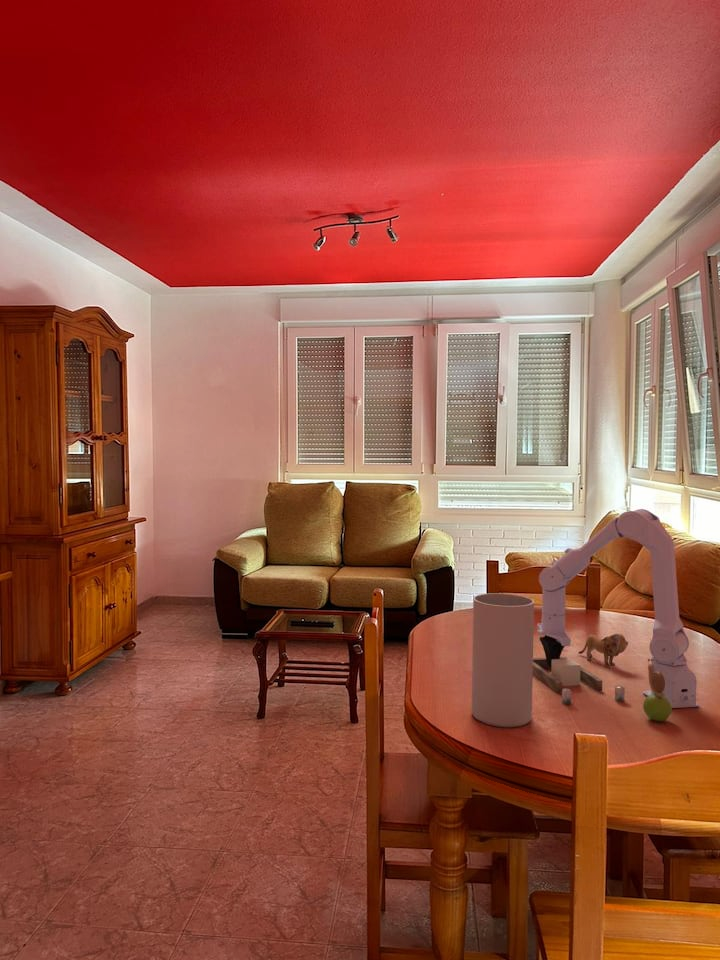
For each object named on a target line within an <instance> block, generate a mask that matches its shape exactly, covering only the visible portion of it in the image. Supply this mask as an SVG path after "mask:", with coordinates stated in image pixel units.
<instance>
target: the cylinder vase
mask: <svg viewBox="0 0 720 960" xmlns="http://www.w3.org/2000/svg"><path fill="white" fill-rule="evenodd" d="M472 604H473V605H472V653H471V654H472V655H471V656H472V657H471V658H472V659H471V660H472V661H471V662H472V663H471V670H472V671H471V713H472V715H473V717H474V718H475V719H476V720H478V722H481V723H484V724H486V725H488V726H494V727H498V728H517V727H518V728H519V727H521V726H522V727H523V726H524V725H527V724H528V723H530V721H531V720H532V717H533V679H534V678H533V676H534V675H533V658H534V625H535V623H534V620H535V601H534V599H532V598H530V597H527V596H524V595H519V594H513V593H512V594H511V593H501V592H500V593H497V592H495V593H482V594H477V595H475V596H473V601H472Z"/></svg>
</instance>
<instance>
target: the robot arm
mask: <svg viewBox="0 0 720 960" xmlns="http://www.w3.org/2000/svg"><path fill="white" fill-rule="evenodd" d="M621 538H627V539H629V540H633V541H635V542H637V543H639V544H641V546H643V547H644V548H646V549H647V550H648V551H649V554H650V564H651V565H650V566H651V567H650V568H651V578H652V579H651V580H652V583H651V584H652V594H653V608H654V609H653V611H654V622H653V626H652V637H651V639H650V642H649V648H648V649H649V652H650V654H651V659H653V661H651V664H652V665H653V666H654V672H655V671H659V672H661V673H662V674H663V676H664V679H665V688H664V690H663V691H662V693H664V697H665V698H667V699H668V701H669V702H670V704H671V708H672V709H679V708H694V707H695V708H697V707H700V703H697V677H696V674H695V673H694V672H693V670H691V669H690V668H689V667H688V664H687V663H688V661H687V658H686V656H685V653H686V652H687V651H688V649H689V646H690V640H689V638H688V636H687V634H686V632H685V629H684V623H683V621H682V620H681V618H680V610H679V609H680V607H679V595H678V594H679V593H678V584H677V583H678V580H677V566H676V554H675V553H676V551H675V542H674V539H673V538H672V536H671V535H670V534H669V532H668V531H667V529H666V528H665V527H664V525H663V524H662V523H661V520H660V518H659V517H658V516H657V515H656V514H654V513H652V512H651V511H649V510H647V509H644V508H640V509H639V508H638V509H635V510H627V511H624V512H623V513H621V514H620V515H619V516H618V517H615V518H614V519H612V520H610V521H609V522H608V523H606V524H605V526H603V527H602V528H601V529H600V530H599V531H598V532H596V533H595V534H594V535H593V536H592V537H591V538H590V539H588V541H587V542H585V543H584V544H583V545H582V546H581V547H577V546H574V547H572V548H569V547H568V548H566V549H565V550H564V554H563V555H562V556H561V557H559V559H557V560H553V561H552V562H551V566H550V567H549V566H548V567H545V568H543V569H542V571H540V573H539V576H538V582H539V585H540V586H541V587H542V595H541V623H540V622H539V623H537V624H536V631H537V634H539V635H544V636H540V637H539V642H540V643H541V645H542V648H543V651H544V654H545V658H546V661H547V665H548V666H549V667H552V659H559V658H560V657H561V655H562V652H563V651H564V648H565V647H571V637H570V636H568V633H567V631H566V629H565V628H566V588H567V586H568V585H569V584H570V581H571V580H572V579H574V578H575V577H577V576H578V575H579V574H580V573H581V572H583V570H585V569H586V568H587V567H589V566H590V562H591V557H593V556H595V554H597V553H598V552H600V550H602V549H603V548H605V547H607V546H608V544H610V543H612V542H613V541H614V540H617V539H621ZM642 694H643V695H645V696H646V697H647V696H649V695H651V694H654V693H653V691H652V689H651V688H650V690H643V691H642Z"/></svg>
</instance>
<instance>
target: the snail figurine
mask: <svg viewBox="0 0 720 960" xmlns="http://www.w3.org/2000/svg"><path fill="white" fill-rule="evenodd" d="M647 661H648V662H652V661H653V659H652V658H651V659H650V658H647ZM647 669H648V682H649V687H650V690H651V689H652V691H653V693H654V694H651V695H649V696H646V697H645V698H644V700H643V703H642V708H643V711H644V713H645V715H646V716H647V717H648V718H649V719H651V720H653V721H655V722H664V721H666V720H668V719H669V718H670V716H671V714H672V709H673V708H671V704H670V702H669V701H668V699H667V698H665V697H664V693H662V691H663V690H664V688H665V679H664V676H663V674H662V673H661V672H659V671H655V672H654V666H653V665H652V663H651V664H650V663H649V664H648V666H647Z"/></svg>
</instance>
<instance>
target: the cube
mask: <svg viewBox="0 0 720 960" xmlns="http://www.w3.org/2000/svg"><path fill="white" fill-rule="evenodd" d="M580 667H581V664H580V663H578V662H576V661H574V660H573V659H572V658H568V659H552V667H551V668H550V670H551V672H550V674H551V675H553V676H554V677H555V678H557V679H558V680H560V681H561V682H562V687H568V686H569V687H570V686H580V685H581V680H580Z"/></svg>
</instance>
